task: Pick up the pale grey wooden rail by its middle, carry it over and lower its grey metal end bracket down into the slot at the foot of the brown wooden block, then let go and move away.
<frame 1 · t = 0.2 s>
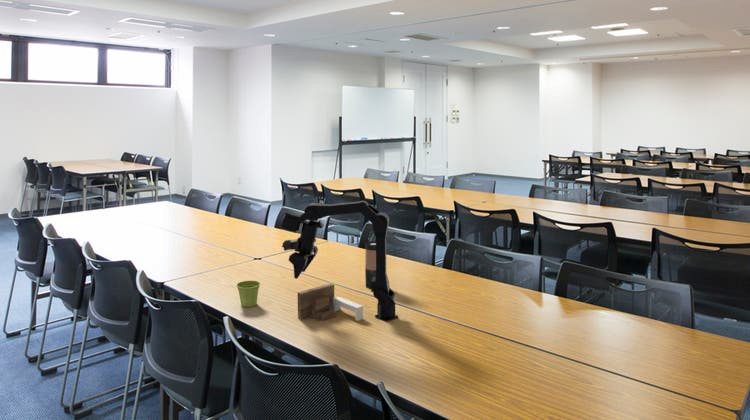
hand: (299, 274, 197), 15 cm above the table, tool pointing down, fingers open, 9 cm apart
travel mug: (373, 287, 232), on the table
plant pot: (249, 305, 208), on the table
bed rail: (347, 314, 198), on the table
brown wooden block: (324, 316, 196), on the table
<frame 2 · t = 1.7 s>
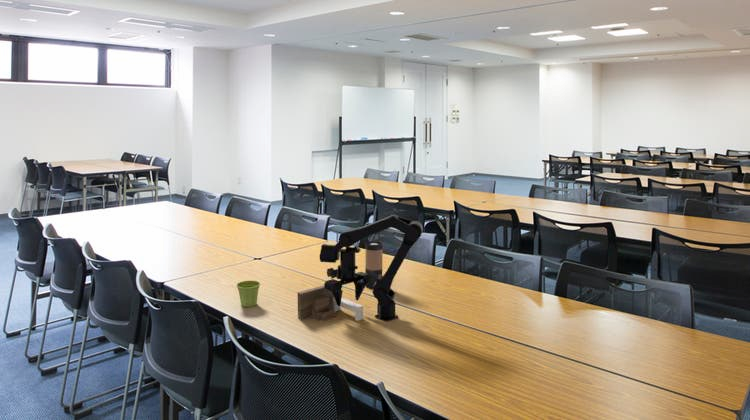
hand: (347, 302, 198), 5 cm above the table, tool pointing down, fingers open, 9 cm apart
nothing on the table moved.
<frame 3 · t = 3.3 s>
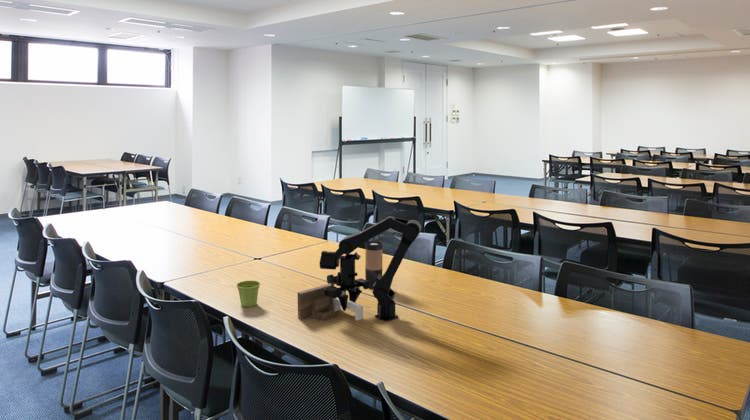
hand: (347, 309, 198), 2 cm above the table, tool pointing down, fingers closed on bed rail, 3 cm apart
bed rail: (347, 314, 198), on the table, touching gripper
everything else where it was.
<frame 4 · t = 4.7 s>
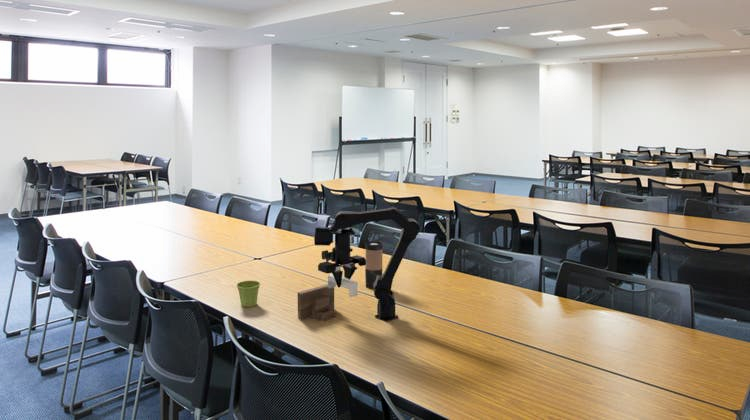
hand: (342, 286, 194), 12 cm above the table, tool pointing down, fingers closed on bed rail, 3 cm apart
bed rail: (342, 291, 194), point 10 cm above the table, touching gripper
everything else where it was.
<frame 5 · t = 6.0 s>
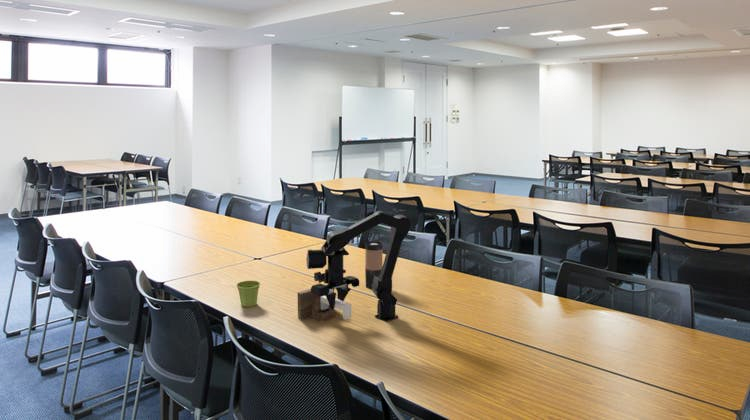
hand: (335, 308, 190), 5 cm above the table, tool pointing down, fingers closed on bed rail, 3 cm apart
bed rail: (335, 313, 191), point 3 cm above the table, touching gripper
everything else where it was.
when the fingers open (3 cm above the table, at t = 6.6 s): bed rail drops 1 cm, on the table.
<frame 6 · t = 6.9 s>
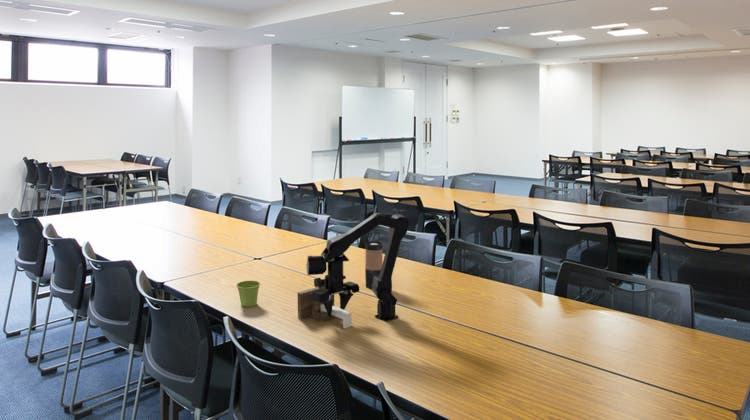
hand: (335, 314, 191), 3 cm above the table, tool pointing down, fingers open, 6 cm apart
bed rail: (335, 321, 191), on the table
everything else where it was.
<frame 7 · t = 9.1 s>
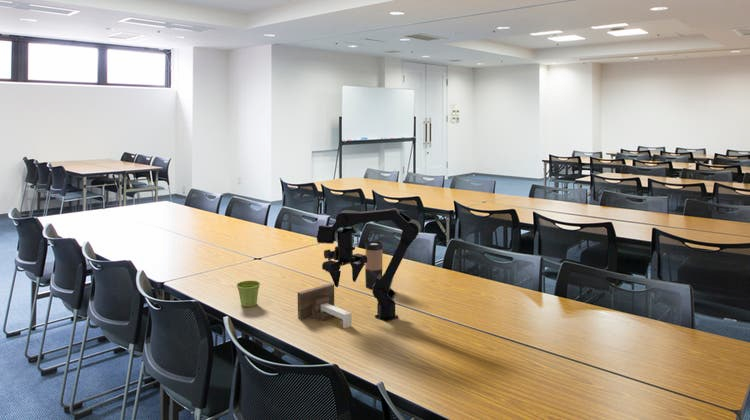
hand: (345, 284, 197), 12 cm above the table, tool pointing down, fingers open, 9 cm apart
nothing on the table moved.
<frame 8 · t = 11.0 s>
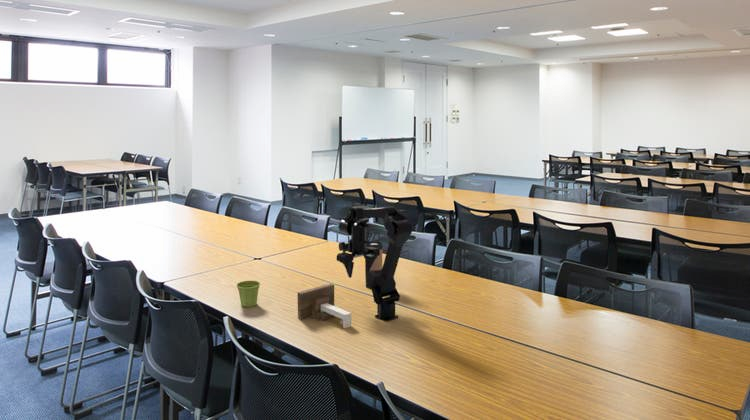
hand: (358, 275, 208), 12 cm above the table, tool pointing down, fingers open, 9 cm apart
nothing on the table moved.
at the end: bed rail 0.1 cm from the target spot on the brown wooden block, point 0.0 cm above the brown wooden block's base; bed rail tilted 0°; the gripper is holding nothing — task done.
